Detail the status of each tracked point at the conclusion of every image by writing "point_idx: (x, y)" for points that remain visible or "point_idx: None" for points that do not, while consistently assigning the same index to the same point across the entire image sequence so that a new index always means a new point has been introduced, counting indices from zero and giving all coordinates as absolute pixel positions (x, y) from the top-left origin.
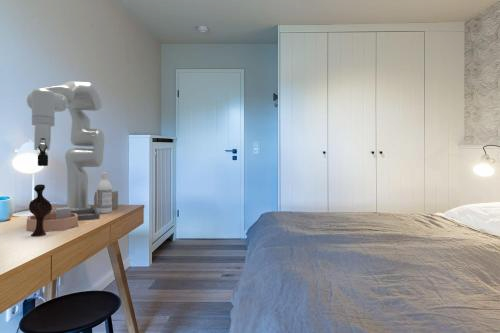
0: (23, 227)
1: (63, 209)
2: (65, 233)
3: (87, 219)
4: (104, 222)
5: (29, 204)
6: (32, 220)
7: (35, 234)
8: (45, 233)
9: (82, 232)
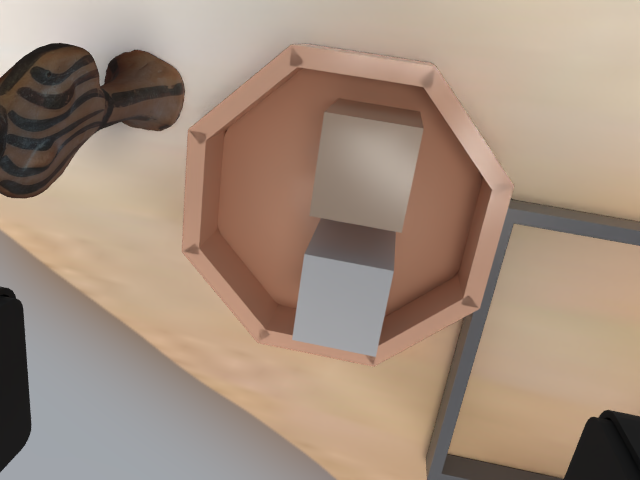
0: (419, 34)
1: (298, 296)
2: (116, 216)
3: (440, 405)
4: (302, 442)
5: (41, 47)
6: (251, 78)
7: (110, 71)
8: (129, 124)
9: (104, 288)
